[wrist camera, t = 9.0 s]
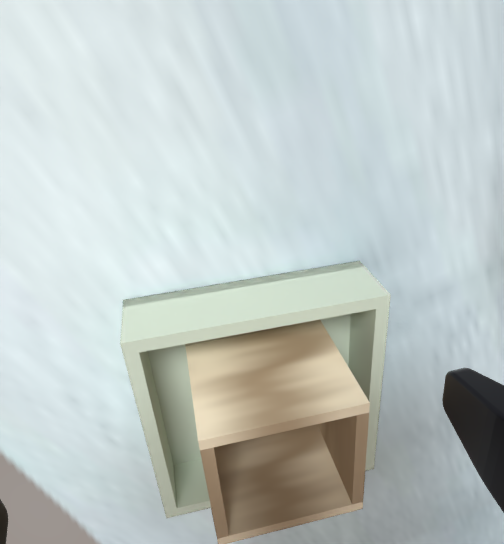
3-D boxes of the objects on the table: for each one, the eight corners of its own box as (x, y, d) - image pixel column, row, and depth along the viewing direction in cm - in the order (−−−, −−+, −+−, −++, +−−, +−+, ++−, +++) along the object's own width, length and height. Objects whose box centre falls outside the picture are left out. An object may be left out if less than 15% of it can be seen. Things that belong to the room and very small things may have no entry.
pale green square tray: (359, 260, 22) (390, 294, 19) (350, 424, 28) (373, 468, 25) (123, 300, 20) (120, 343, 18) (164, 465, 26) (166, 518, 23)
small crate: (317, 315, 22) (370, 403, 17) (318, 410, 26) (362, 508, 20) (184, 339, 21) (197, 441, 16) (202, 435, 25) (218, 545, 19)
